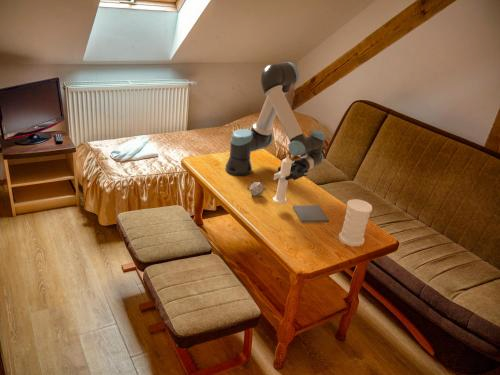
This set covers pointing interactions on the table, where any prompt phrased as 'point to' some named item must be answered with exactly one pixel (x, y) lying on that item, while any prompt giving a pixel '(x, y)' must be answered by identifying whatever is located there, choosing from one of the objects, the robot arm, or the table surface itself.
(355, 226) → the decorative container
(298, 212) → the slate tile
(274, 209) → the table surface
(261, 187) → the game die
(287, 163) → the candle
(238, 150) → the robot arm
